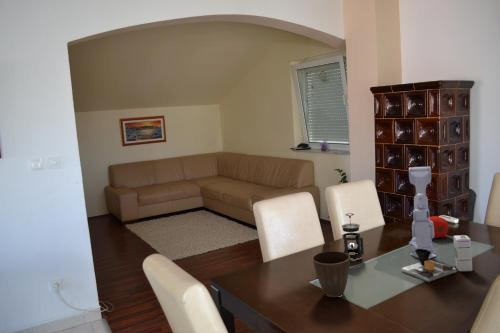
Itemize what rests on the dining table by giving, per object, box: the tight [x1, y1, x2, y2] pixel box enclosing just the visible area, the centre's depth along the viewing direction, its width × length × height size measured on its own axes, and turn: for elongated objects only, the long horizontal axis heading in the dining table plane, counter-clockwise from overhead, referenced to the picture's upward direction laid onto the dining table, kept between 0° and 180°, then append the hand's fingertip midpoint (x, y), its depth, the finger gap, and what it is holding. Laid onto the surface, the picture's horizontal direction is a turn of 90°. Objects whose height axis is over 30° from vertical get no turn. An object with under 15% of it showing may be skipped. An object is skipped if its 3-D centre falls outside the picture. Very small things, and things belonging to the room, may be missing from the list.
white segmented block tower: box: [453, 234, 473, 272], centre depth 181 cm, size 6×6×14 cm
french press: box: [341, 212, 365, 259], centre depth 207 cm, size 12×9×23 cm
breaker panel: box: [400, 259, 458, 283], centre depth 182 cm, size 15×17×3 cm
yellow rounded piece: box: [424, 259, 435, 271], centre depth 181 cm, size 3×3×4 cm
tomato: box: [428, 215, 450, 239], centre depth 227 cm, size 13×13×13 cm
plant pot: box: [312, 250, 351, 296], centre depth 168 cm, size 15×15×16 cm
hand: (424, 265), depth 183 cm, fingers closed
